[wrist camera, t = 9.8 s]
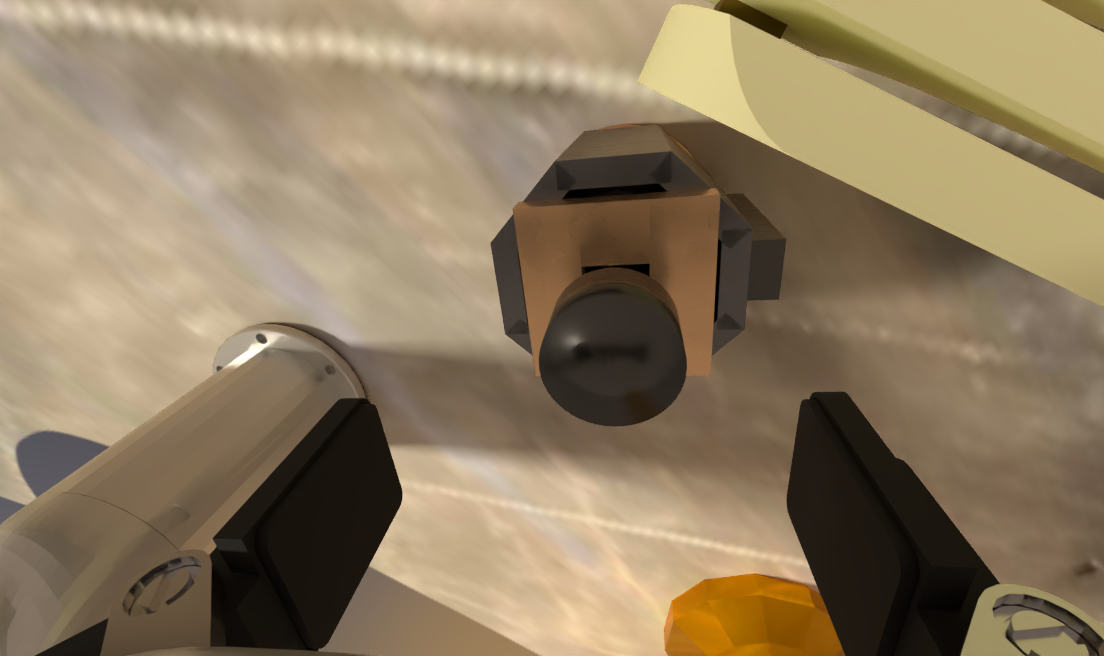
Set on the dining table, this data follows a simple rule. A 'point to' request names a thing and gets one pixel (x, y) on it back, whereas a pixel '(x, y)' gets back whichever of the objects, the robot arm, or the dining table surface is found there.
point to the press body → (637, 239)
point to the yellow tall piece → (750, 620)
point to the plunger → (614, 340)
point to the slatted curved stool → (904, 130)
